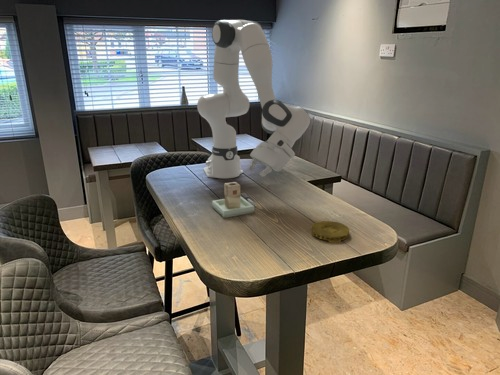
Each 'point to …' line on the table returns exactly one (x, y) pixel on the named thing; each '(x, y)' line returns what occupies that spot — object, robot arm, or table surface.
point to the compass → (330, 231)
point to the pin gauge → (247, 198)
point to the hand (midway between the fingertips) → (255, 172)
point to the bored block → (232, 195)
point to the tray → (225, 212)
